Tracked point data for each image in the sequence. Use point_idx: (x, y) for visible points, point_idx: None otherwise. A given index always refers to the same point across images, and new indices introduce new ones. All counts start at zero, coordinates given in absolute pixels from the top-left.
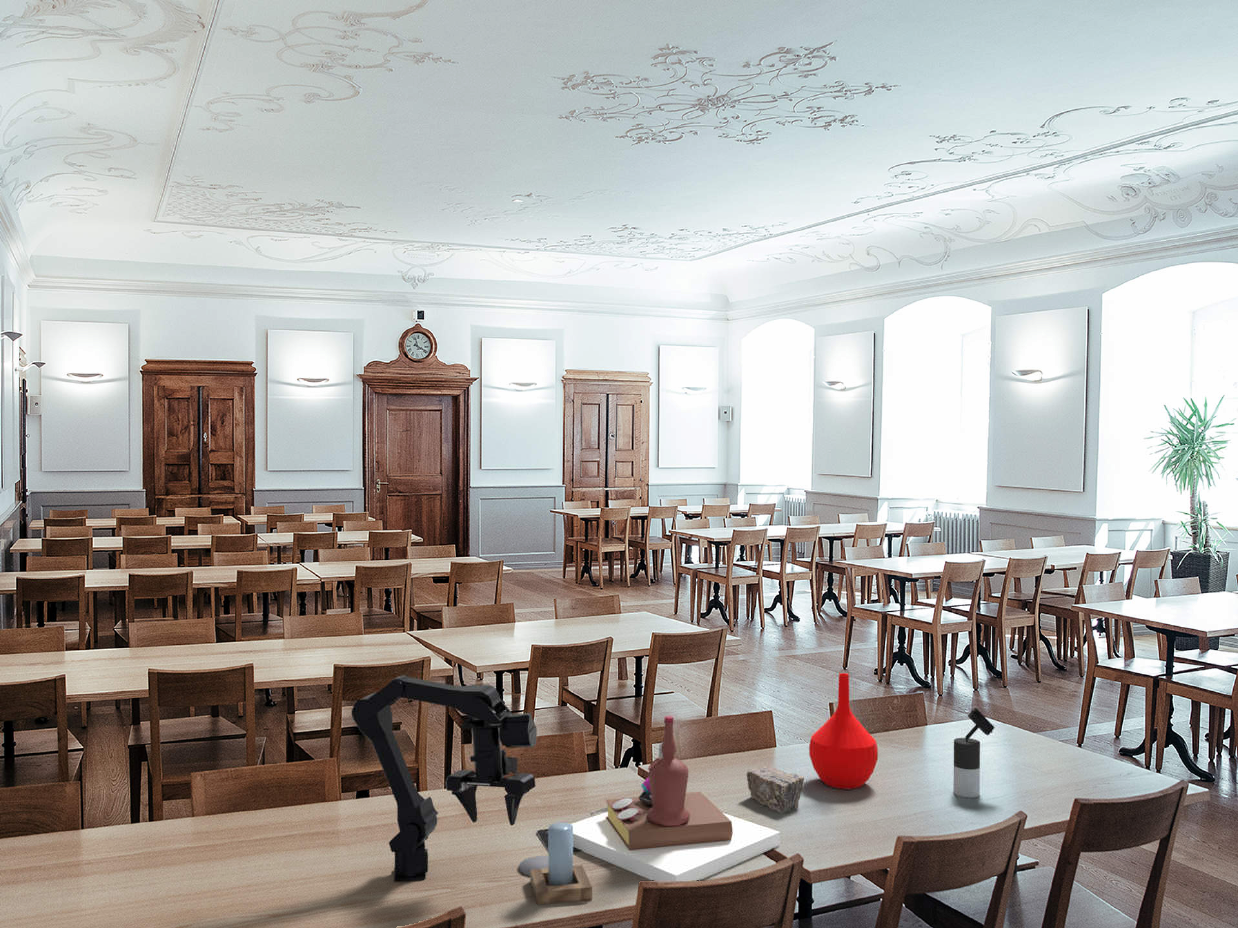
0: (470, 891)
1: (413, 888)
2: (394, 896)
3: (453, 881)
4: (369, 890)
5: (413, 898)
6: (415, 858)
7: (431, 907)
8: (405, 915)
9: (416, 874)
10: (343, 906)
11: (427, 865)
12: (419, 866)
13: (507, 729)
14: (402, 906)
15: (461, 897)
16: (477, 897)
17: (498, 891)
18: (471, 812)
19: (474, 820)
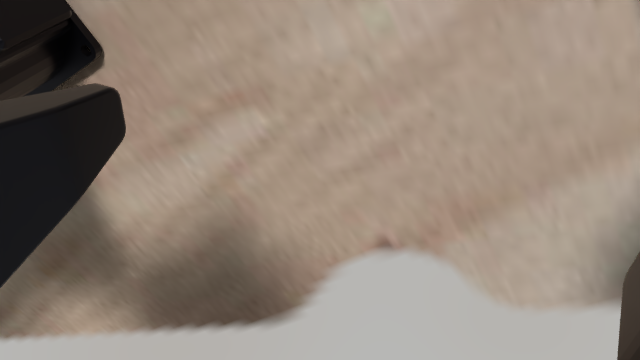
0: (358, 114)
1: (129, 139)
2: (122, 207)
3: (225, 32)
4: None
5: (187, 211)
6: (2, 99)
7: (286, 260)
8: (244, 311)
9: (59, 62)
10: (57, 280)
11: (49, 22)
12: (36, 58)
13: None
14: (196, 264)
15: (348, 174)
16: (417, 162)
17: (498, 82)
18: (40, 227)
19: (114, 140)
